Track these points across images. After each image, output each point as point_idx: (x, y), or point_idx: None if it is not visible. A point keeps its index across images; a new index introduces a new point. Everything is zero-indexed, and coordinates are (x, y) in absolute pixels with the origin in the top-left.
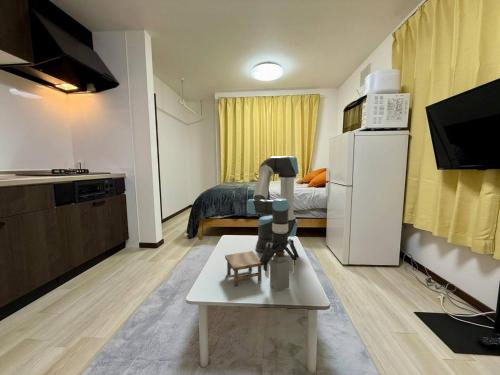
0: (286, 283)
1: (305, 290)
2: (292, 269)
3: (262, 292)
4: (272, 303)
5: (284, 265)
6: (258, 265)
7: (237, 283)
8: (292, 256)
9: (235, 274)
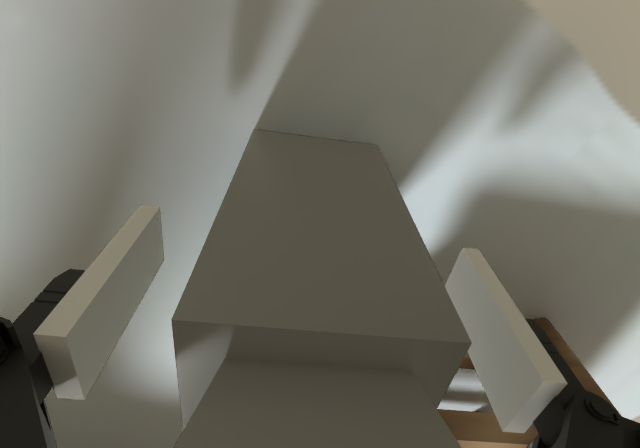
0: (279, 151)
1: (123, 12)
2: (141, 233)
3: (475, 191)
4: (540, 19)
5: (303, 284)
6: (447, 418)
7: (548, 331)
8: (17, 415)
9: (604, 394)
